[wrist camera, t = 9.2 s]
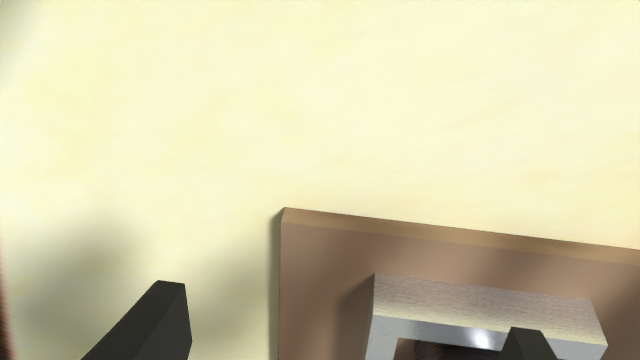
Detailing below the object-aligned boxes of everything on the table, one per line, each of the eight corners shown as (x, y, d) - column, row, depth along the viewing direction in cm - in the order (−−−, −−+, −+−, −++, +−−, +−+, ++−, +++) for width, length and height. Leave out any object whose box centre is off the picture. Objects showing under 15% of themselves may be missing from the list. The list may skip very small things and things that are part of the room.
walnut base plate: (707, 258, 22) (719, 275, 21) (589, 435, 30) (595, 452, 30) (284, 207, 23) (280, 221, 23) (280, 391, 32) (277, 406, 31)
